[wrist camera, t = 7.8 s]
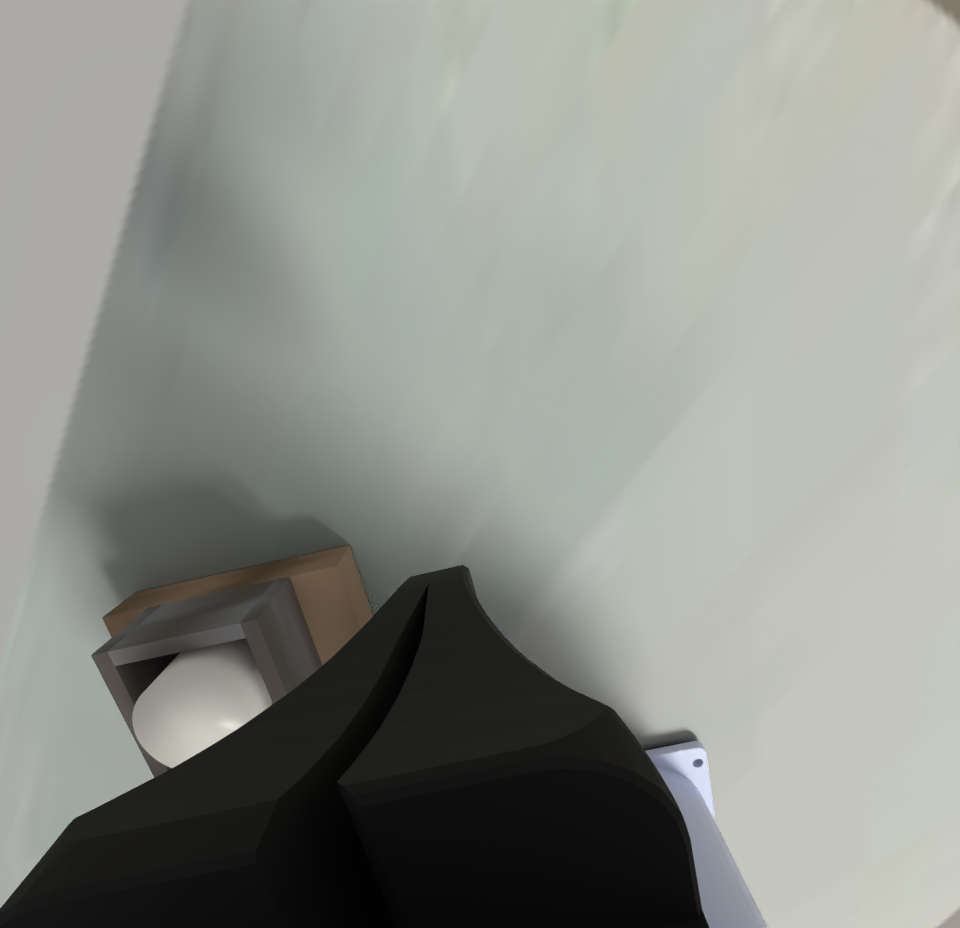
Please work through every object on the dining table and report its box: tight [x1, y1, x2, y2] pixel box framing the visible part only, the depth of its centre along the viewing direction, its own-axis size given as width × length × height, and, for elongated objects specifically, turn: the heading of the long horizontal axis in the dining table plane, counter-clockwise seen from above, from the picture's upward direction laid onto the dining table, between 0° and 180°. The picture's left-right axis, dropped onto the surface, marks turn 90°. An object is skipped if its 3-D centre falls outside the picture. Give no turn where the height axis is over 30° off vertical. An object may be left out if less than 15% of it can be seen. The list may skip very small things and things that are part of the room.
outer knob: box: [132, 638, 273, 768], centre depth 18 cm, size 4×4×4 cm
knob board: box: [91, 545, 373, 778], centre depth 21 cm, size 10×18×5 cm, turn 13°
